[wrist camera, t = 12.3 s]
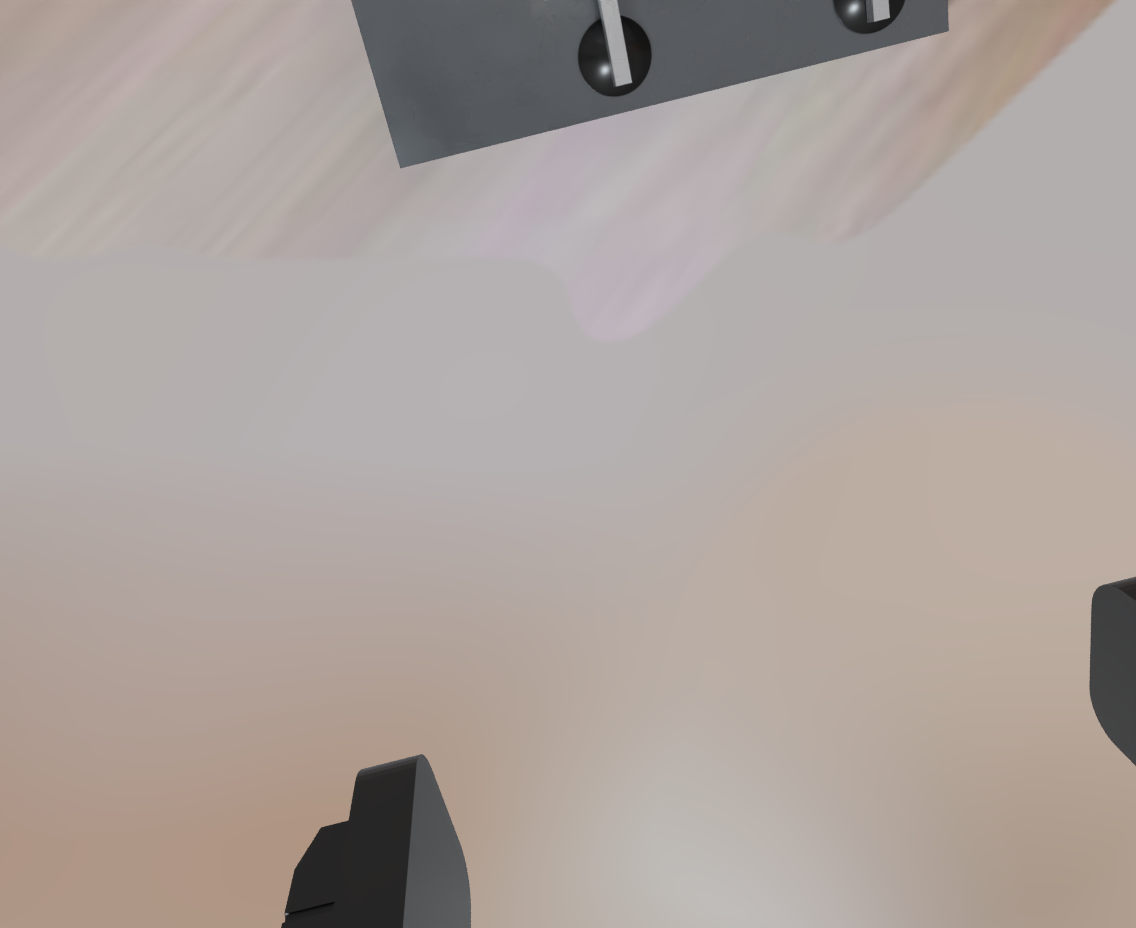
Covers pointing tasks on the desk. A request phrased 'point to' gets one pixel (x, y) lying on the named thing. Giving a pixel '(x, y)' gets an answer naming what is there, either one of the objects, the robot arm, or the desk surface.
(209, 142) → the desk surface
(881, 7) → the silver ball-topped post
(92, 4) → the desk surface
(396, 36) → the plate
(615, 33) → the gold topped lever
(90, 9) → the desk surface
